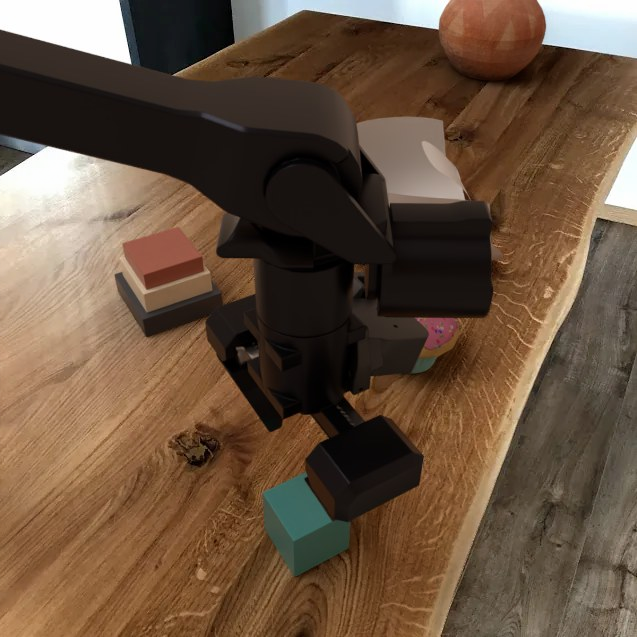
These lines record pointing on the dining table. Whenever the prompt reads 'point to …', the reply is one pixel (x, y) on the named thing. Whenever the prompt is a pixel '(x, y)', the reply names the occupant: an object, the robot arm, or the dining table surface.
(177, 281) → the stack
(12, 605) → the dining table surface
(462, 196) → the bowl
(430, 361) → the cupcake
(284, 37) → the dining table surface
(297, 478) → the toy cube
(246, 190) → the robot arm
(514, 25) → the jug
